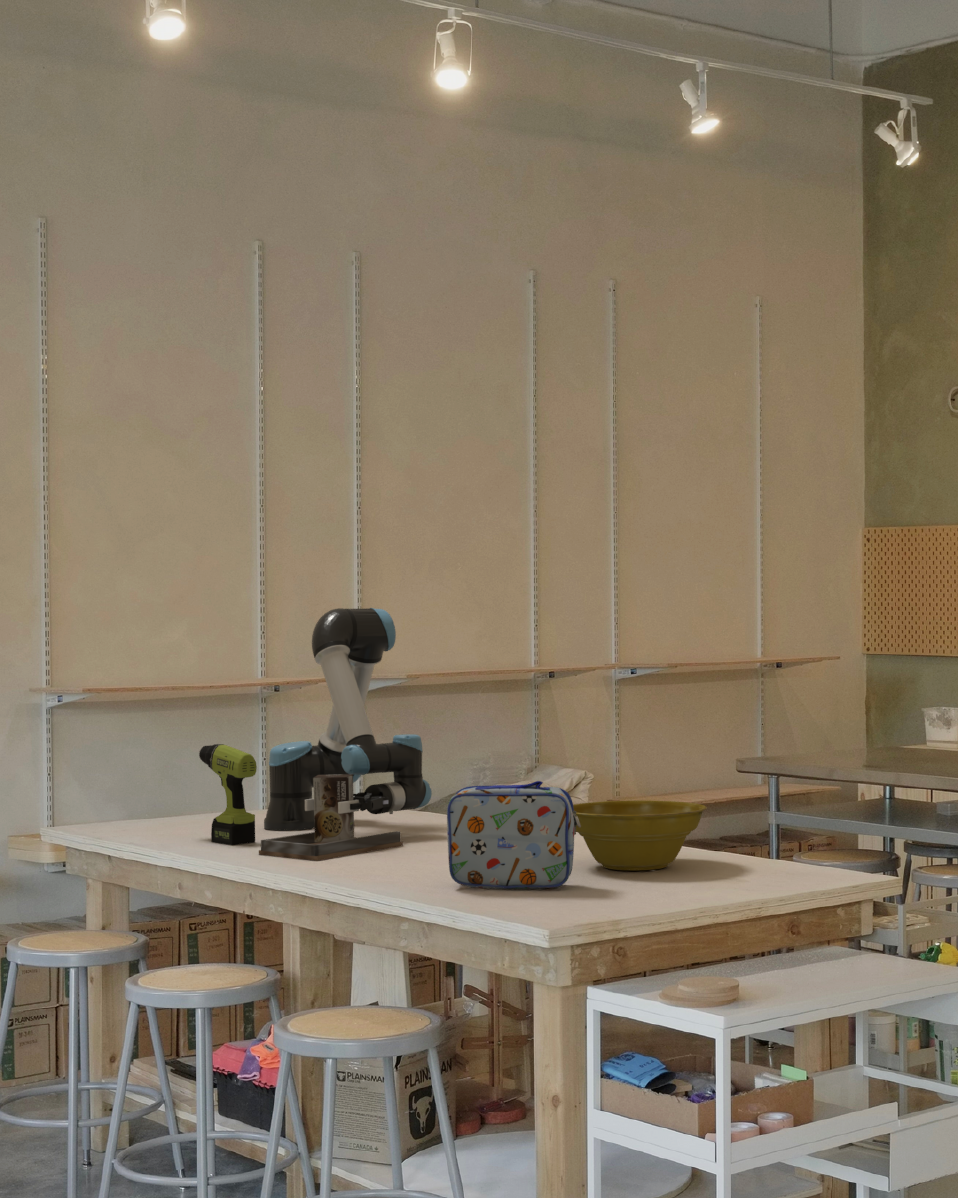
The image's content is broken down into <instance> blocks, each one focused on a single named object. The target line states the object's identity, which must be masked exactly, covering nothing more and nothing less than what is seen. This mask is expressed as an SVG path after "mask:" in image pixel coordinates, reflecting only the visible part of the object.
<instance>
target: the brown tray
mask: <svg viewBox="0 0 958 1198" xmlns="http://www.w3.org/2000/svg"><path fill="white" fill-rule="evenodd" d="M399 847H404V841H402V840H401V831H392V832H391V831H390V832H384V833H379V834H371V835H365V836H360V837H355V836H354V838H353V839H346V840H340V841H334V842H315V831H313V832H312V831H311V832H307V833H298V834H294V835H293V834H292V835H287V836H285V835H284V836H280V837H274V838H273V837H272V838H267V839H261V840H260V849H259V850H258V855H261V856H269V857H270V856H271V857H280V858H288V859H296V860H297V859H298V860H307V861H314V862H315V861H316V862H318V861H323V860H324V861H325V860H329V859H330V860H331V859H335V858H342V857H346V856H347V857H348V856H353V855H358V854H365V853H371V852H376V851H381V850H388V849H393V848H399Z"/></svg>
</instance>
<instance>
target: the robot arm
mask: <svg viewBox="0 0 958 1198" xmlns="http://www.w3.org/2000/svg"><path fill="white" fill-rule="evenodd" d="M396 633H397V631H396V626H395V623H394V620H393V618H392V616H391V614H390V613H389V612H388V610H385V609H383V608H373V607H369V608H344V607H339V608H333V609H330V610H327V612H325V613H324V614H323V615H321V616H320V618H319V619H318V620H317V621H316V623H315V626H314V628H313V632H312V634H311V636H312V637H311V650H312V655H313V657H314V661H315V663H317V664H318V665H320V667H321V670H322V673H323V676H324V679H325V683H326V685H327V688H328V692H329V695H330V698H331V699H330V700H331V701H332V708H331V710H330V711H331V712H330V714H329V715H330V716H329V719H328V724H327V728H326V731H324V732H322V733H321V734H320V735H319V738H318V742H317V744H316V745H313V744H312V742H311V741H309V740H300V741H292V742H285V743H280V744H278V745H277V744H276V745H275V746H273V747H271V749H270V751H269V758H268V759H269V760H268V766H269V767H268V768H269V770H268V771H269V803H268V806H267V811H266V815H265V818H264V819H263V828H264V830H265V829H266V830H270V831H301V830H310V829H311V830H312V829H315V828H314V798H313V789H314V786H313V778H314V777H316V776H317V775H340V774H353V784H354V783H356V782H357V781H358V780H359V779H360V777H361V776H364V775H370V774H382V773H383V774H384V773H393V781H392V782H391V781H390V782H382V783H375V784H370V785H369V786H367V787H366V788H365V791H364V792H362V791H361V792H357V793H353V799H354V800H351V801H344V802H338V813H339V814H341V813H348V812H355V813H356V812H359V811H361V812H364V811H367V812H369V813H370V814H371V815H380V814H385V813H386V814H387V813H389V815H393V814H394V812H397V811H398V812H399V811H400V812H401V811H408V810H415V809H419V808H424V807H425V806H427V805H428V804H429V803H430V801H431V799H432V794H433V793H432V791H433V790H432V788H431V787H430V784H429V782H428V781H427V780H426V779H424V776H423V744H422V737H421V736H420V735H419V734H411V733H410V734H409V733H407V734H394V735H393V737H392V741H391V742H386V743H385V742H384V743H377V741H376V739H375V737H374V733H373V730H372V726H371V723H370V720H369V717H368V714H367V712H366V708H365V705H366V701H367V697H368V694H369V693H368V691H369V688H370V684H371V680H372V677H373V676H372V675H373V672H374V667H375V665H377V664H379V663H380V662H381V661H382V658H383V655H384V652H388V651H391V650H392V649H393V648H394V647H395V643H396V638H397V637H396V635H397V634H396Z"/></svg>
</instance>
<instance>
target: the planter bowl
mask: <svg viewBox="0 0 958 1198" xmlns="http://www.w3.org/2000/svg"><path fill="white" fill-rule="evenodd" d="M573 808H574V811H576V815H577V817H578V819H579V822H580V825H581V827H578V825H576V833H578V835H580V836H581V837H582V838H583V840H584V842H585V845H586V846H587V848H588V850H589V852H590V854H591V855H592V857H593V859H594V860H595V861H596V863H598V864H600V865H602V867H603V868H606V869H608V870H617V871H623V872H624V871H651V870H652V871H653V870H660V869H664V868H667V867H668V866H669V865H670V864H671V863H674V861H675V860H676V858H677V857H678V856H679V853H680V852H681V849H682V847H683V845H684V843H685V840H686V837H687V836H689V835H690V834H691V833H692V832H693V831H695V830H696V829H697V828H698V826H699V823H700V821H701V819H702V815H703V812H704V811H705V810H707V809H708V807H707V806H706V805H704V804H700V803H695V802H688V801H687V802H686V801H675V800H674V801H673V800H641V799H640V800H610V801H608V800H607V801H593V802H591V801H590V802H581V803H576V804H575V803H573Z"/></svg>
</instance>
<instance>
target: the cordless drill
mask: <svg viewBox="0 0 958 1198" xmlns="http://www.w3.org/2000/svg"><path fill="white" fill-rule="evenodd" d="M198 752H199V753H198V756H199V758H200V760H201V761H202V762H203V763H204V764H205V765H207V766H208V768H209V769H210V770H211V771H213V772H214V773H215V774H216V775H217V776H218V777H219V778H220V782H221V786H222V787H223V788H224V790H225V795H226V796H225V797H226V807H225V809H224V811H223V812H222V813H220V814H218V815H217V816H215V817H214V818H213V820H212V822H211V831H210V832H211V833H210V835H211V837H210V838H211V840H210V841H211V843H215V844H222V845H229V846H238V845H244V844H246V845H247V844H252V843H256V814H253V813H252V812H247V809H246V807H245V794H244V785H243V780H244V779H245V778H251V777H254V776H255V775H256V773H257V770H258V769H257V768H258V767H257V762H256V759H255V757H254V756H253V755H252V754H250V753H248V752H245V751H243V750H240V749H237V748H236V747H232V746H230V745H228V744H227V745H226V744H224V743H216V744H212V745H211V744H210V745H204V746H203V747H201V748H200V750H199V751H198Z"/></svg>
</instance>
